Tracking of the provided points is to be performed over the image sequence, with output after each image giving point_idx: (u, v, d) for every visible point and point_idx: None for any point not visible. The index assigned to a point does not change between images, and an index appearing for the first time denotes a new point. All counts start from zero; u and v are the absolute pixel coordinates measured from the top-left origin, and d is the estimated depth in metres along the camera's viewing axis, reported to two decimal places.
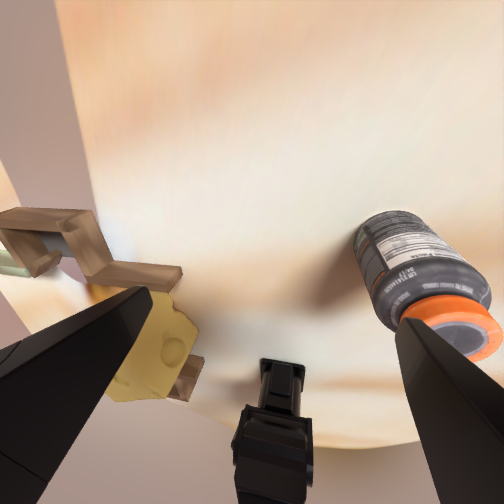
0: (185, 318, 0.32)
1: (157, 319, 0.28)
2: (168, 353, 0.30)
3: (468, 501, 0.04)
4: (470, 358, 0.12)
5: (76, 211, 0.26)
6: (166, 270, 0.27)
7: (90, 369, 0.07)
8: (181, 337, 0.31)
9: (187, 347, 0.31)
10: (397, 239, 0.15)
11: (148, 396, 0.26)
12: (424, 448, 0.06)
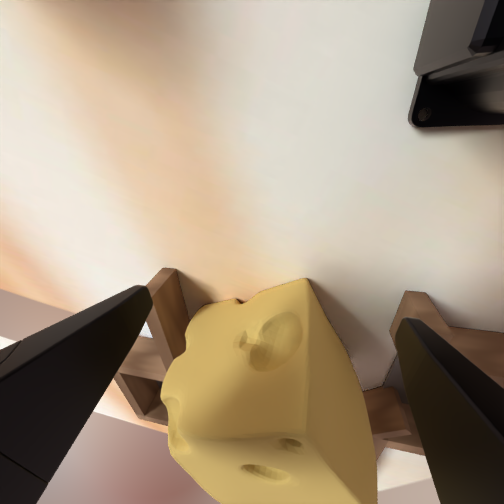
0: (266, 291, 0.17)
1: (215, 335, 0.16)
2: (290, 352, 0.14)
3: (468, 501, 0.04)
4: None
5: None
6: None
7: (90, 369, 0.07)
8: (274, 311, 0.15)
9: (297, 311, 0.14)
10: None
11: (310, 461, 0.09)
12: (424, 448, 0.06)
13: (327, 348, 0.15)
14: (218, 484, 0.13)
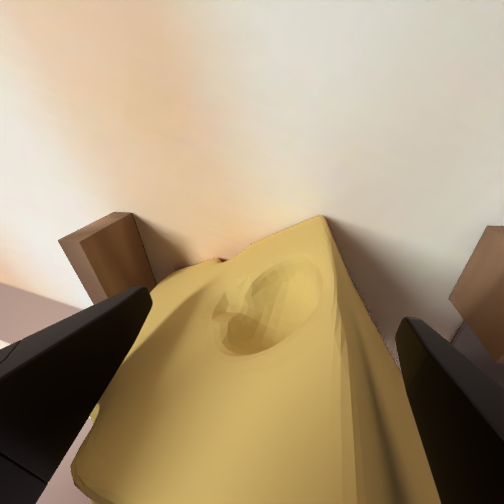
0: (260, 241, 0.11)
1: (180, 303, 0.10)
2: (299, 323, 0.08)
3: (469, 501, 0.04)
4: None
5: None
6: None
7: (89, 369, 0.07)
8: (272, 261, 0.09)
9: (310, 253, 0.08)
10: None
11: None
12: (425, 448, 0.06)
13: (360, 321, 0.09)
14: None
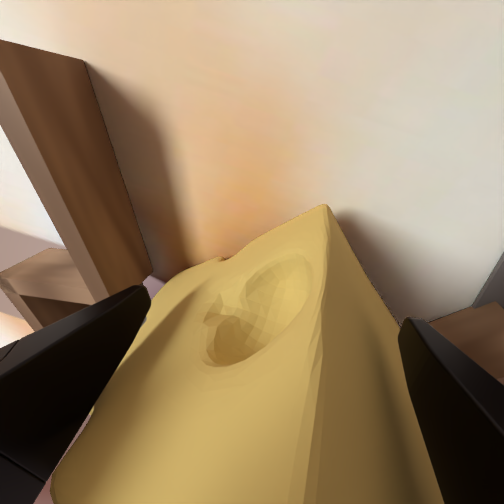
0: (261, 237, 0.11)
1: (178, 305, 0.10)
2: None
3: (473, 502, 0.04)
4: None
5: None
6: None
7: (88, 368, 0.07)
8: (267, 258, 0.08)
9: (304, 248, 0.07)
10: None
11: None
12: (428, 449, 0.06)
13: (370, 323, 0.08)
14: None
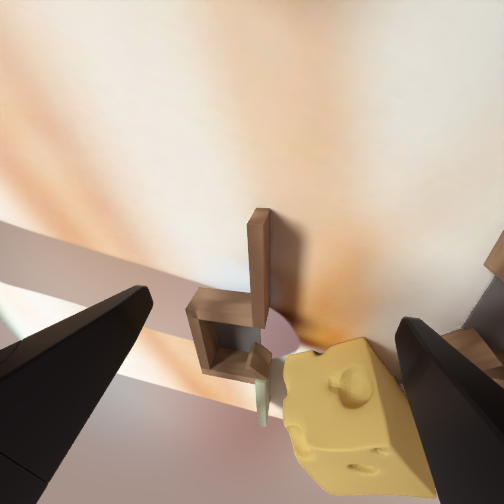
0: (335, 347, 0.26)
1: (308, 381, 0.24)
2: (364, 392, 0.22)
3: (468, 501, 0.04)
4: None
5: None
6: None
7: (90, 369, 0.07)
8: (347, 364, 0.23)
9: (364, 365, 0.22)
10: None
11: (392, 460, 0.17)
12: (424, 448, 0.06)
13: (386, 386, 0.23)
14: (329, 478, 0.22)
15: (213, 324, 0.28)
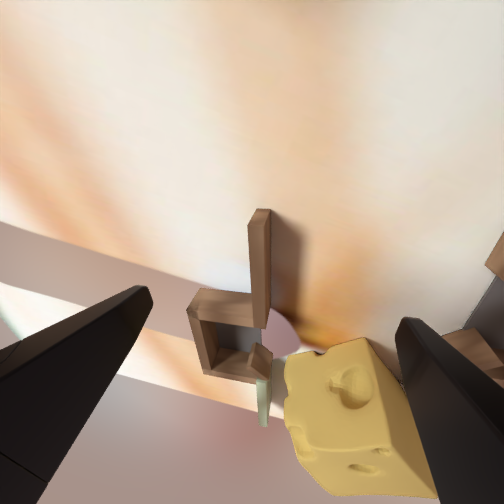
0: (336, 347, 0.26)
1: (309, 381, 0.24)
2: (365, 392, 0.22)
3: (468, 501, 0.04)
4: None
5: None
6: None
7: (90, 369, 0.07)
8: (348, 365, 0.23)
9: (365, 365, 0.22)
10: None
11: (394, 460, 0.17)
12: (424, 448, 0.06)
13: (387, 386, 0.23)
14: (330, 479, 0.22)
15: (214, 324, 0.28)
